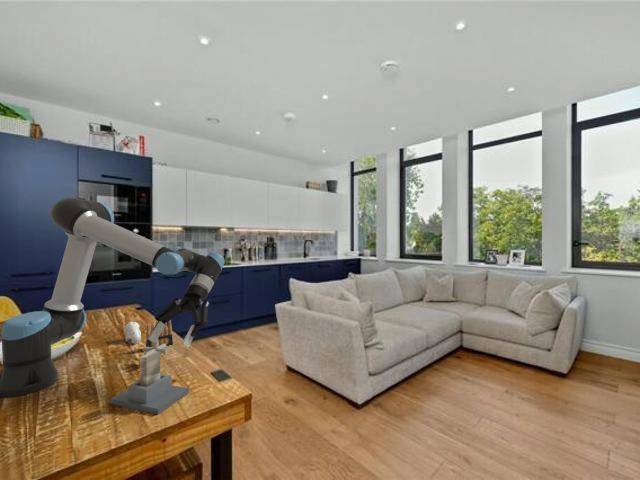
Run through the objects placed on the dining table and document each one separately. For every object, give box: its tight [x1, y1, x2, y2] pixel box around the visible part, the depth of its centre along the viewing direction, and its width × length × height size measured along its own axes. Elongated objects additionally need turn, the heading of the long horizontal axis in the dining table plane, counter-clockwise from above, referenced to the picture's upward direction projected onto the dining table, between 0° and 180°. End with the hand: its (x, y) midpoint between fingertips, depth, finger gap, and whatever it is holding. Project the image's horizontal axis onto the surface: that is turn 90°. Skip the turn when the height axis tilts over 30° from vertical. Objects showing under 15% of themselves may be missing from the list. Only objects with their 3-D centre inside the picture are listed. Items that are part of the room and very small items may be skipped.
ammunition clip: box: [145, 319, 174, 347], centre depth 134 cm, size 11×2×12 cm, turn 133°
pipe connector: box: [142, 339, 169, 356], centre depth 118 cm, size 10×10×10 cm
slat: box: [139, 351, 161, 387], centre depth 93 cm, size 2×5×12 cm, turn 162°
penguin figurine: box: [123, 321, 142, 345], centre depth 142 cm, size 6×8×12 cm
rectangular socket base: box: [109, 372, 190, 415], centre depth 93 cm, size 18×12×6 cm, turn 72°
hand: (167, 343), depth 98 cm, fingers open, 13 cm apart
